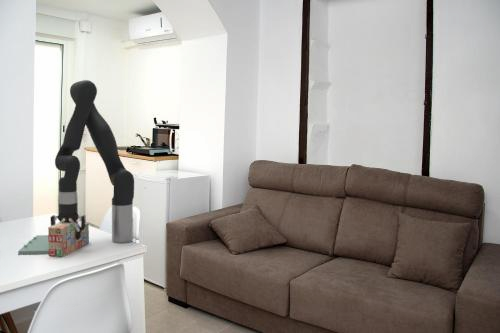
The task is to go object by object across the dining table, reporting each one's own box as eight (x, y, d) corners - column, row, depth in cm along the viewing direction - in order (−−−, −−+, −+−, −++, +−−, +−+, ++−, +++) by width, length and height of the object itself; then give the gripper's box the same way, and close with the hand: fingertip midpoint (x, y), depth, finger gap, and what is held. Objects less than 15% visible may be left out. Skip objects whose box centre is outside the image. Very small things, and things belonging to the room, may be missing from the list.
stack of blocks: (76, 241, 203) (76, 215, 201) (89, 242, 202) (89, 216, 200) (48, 256, 182) (47, 226, 180) (62, 257, 181) (62, 227, 179)
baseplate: (64, 238, 208) (64, 233, 207) (49, 254, 184) (49, 248, 184) (37, 238, 206) (36, 233, 206) (18, 254, 182) (18, 249, 182)
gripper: (87, 200, 193) (87, 237, 195) (52, 199, 191) (53, 237, 193) (83, 203, 186) (84, 241, 188) (47, 203, 184) (48, 242, 186)
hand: (68, 239), depth 190 cm, fingers closed on stack of blocks, 7 cm apart
